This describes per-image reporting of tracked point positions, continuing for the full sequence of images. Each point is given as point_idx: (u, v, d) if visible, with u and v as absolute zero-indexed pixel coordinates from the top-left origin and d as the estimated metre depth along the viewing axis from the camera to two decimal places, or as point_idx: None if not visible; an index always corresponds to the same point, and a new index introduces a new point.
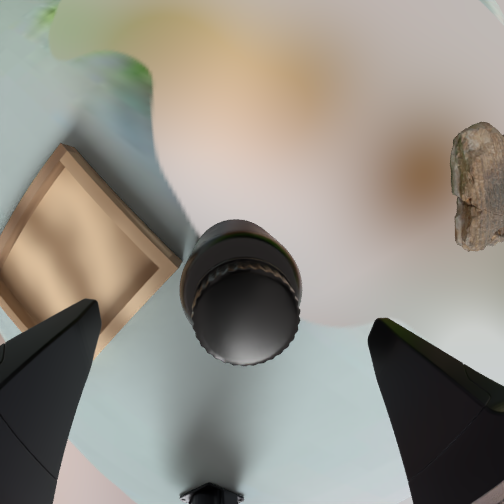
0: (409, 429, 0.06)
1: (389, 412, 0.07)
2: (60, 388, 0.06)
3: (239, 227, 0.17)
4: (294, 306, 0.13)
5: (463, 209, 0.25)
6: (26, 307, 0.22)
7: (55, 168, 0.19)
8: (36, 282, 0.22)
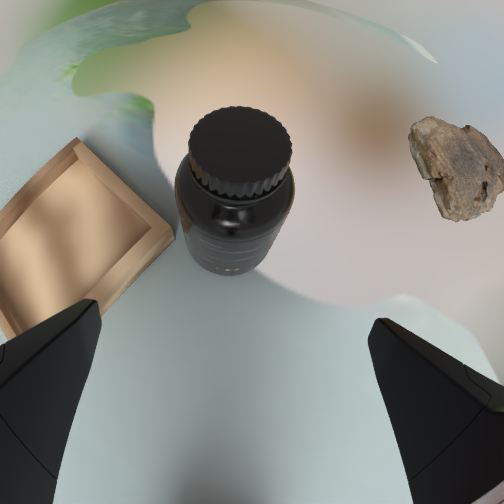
0: (409, 429, 0.06)
1: (389, 412, 0.07)
2: (60, 388, 0.06)
3: None
4: (283, 131, 0.13)
5: (437, 186, 0.28)
6: (3, 293, 0.19)
7: (67, 155, 0.22)
8: (21, 264, 0.20)
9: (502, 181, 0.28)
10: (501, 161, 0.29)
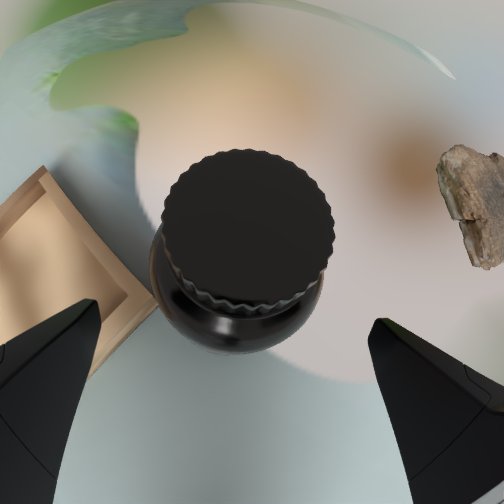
0: (409, 429, 0.06)
1: (389, 412, 0.07)
2: (60, 388, 0.06)
3: None
4: (320, 199, 0.08)
5: (469, 229, 0.23)
6: None
7: (32, 189, 0.17)
8: None
9: None
10: None
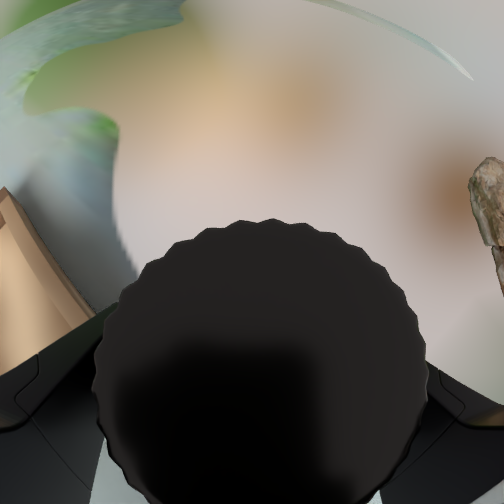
0: None
1: None
2: None
3: None
4: (412, 330, 0.04)
5: (502, 257, 0.19)
6: None
7: None
8: None
9: None
10: None
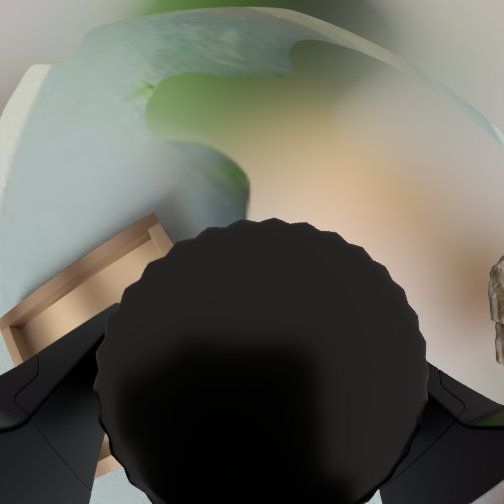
0: None
1: None
2: (96, 397, 0.06)
3: None
4: (412, 329, 0.04)
5: (502, 331, 0.24)
6: None
7: (139, 237, 0.21)
8: None
9: None
10: None
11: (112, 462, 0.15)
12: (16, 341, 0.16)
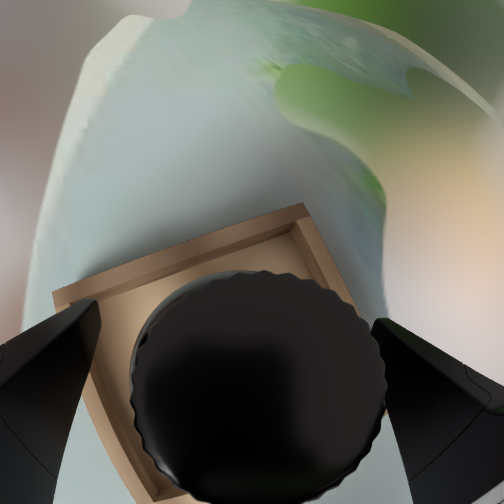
0: (409, 429, 0.06)
1: (389, 412, 0.07)
2: (60, 388, 0.06)
3: None
4: (373, 354, 0.05)
5: None
6: (109, 382, 0.14)
7: (283, 227, 0.18)
8: None
9: None
10: None
11: None
12: None
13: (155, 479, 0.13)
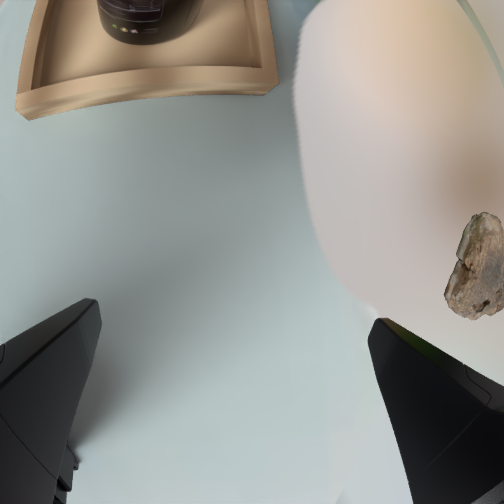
0: (409, 429, 0.06)
1: (389, 412, 0.07)
2: (60, 388, 0.06)
3: None
4: None
5: (461, 271, 0.29)
6: (57, 11, 0.11)
7: None
8: None
9: (496, 310, 0.32)
10: None
11: (64, 89, 0.12)
12: None
13: (43, 87, 0.12)
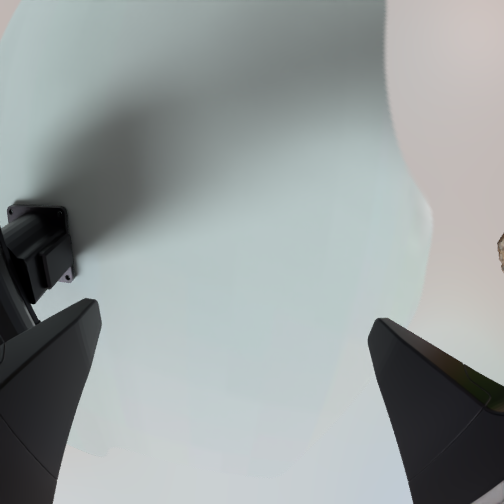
0: (409, 429, 0.06)
1: (389, 412, 0.07)
2: (60, 388, 0.06)
3: None
4: None
5: None
6: None
7: None
8: None
9: None
10: None
11: None
12: None
13: None
